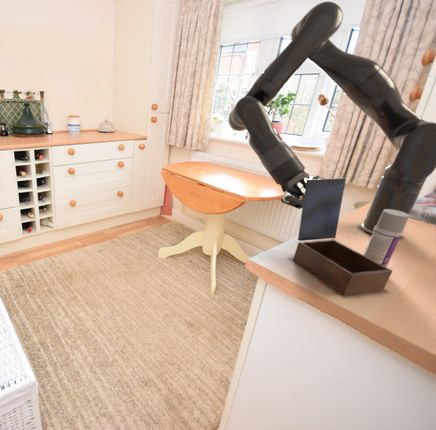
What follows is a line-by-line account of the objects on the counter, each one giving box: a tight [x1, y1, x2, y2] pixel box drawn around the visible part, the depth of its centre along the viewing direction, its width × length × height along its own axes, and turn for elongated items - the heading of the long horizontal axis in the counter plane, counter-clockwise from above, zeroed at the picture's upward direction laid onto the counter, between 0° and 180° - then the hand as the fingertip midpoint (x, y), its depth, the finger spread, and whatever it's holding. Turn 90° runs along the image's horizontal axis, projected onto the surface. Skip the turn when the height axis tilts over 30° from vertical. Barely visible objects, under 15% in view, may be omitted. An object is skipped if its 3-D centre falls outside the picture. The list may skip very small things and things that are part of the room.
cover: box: [297, 177, 347, 242], centre depth 72 cm, size 15×10×1 cm
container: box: [363, 209, 410, 268], centre depth 69 cm, size 5×5×15 cm
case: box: [292, 238, 393, 297], centre depth 68 cm, size 14×10×5 cm
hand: (320, 216), depth 76 cm, fingers closed
